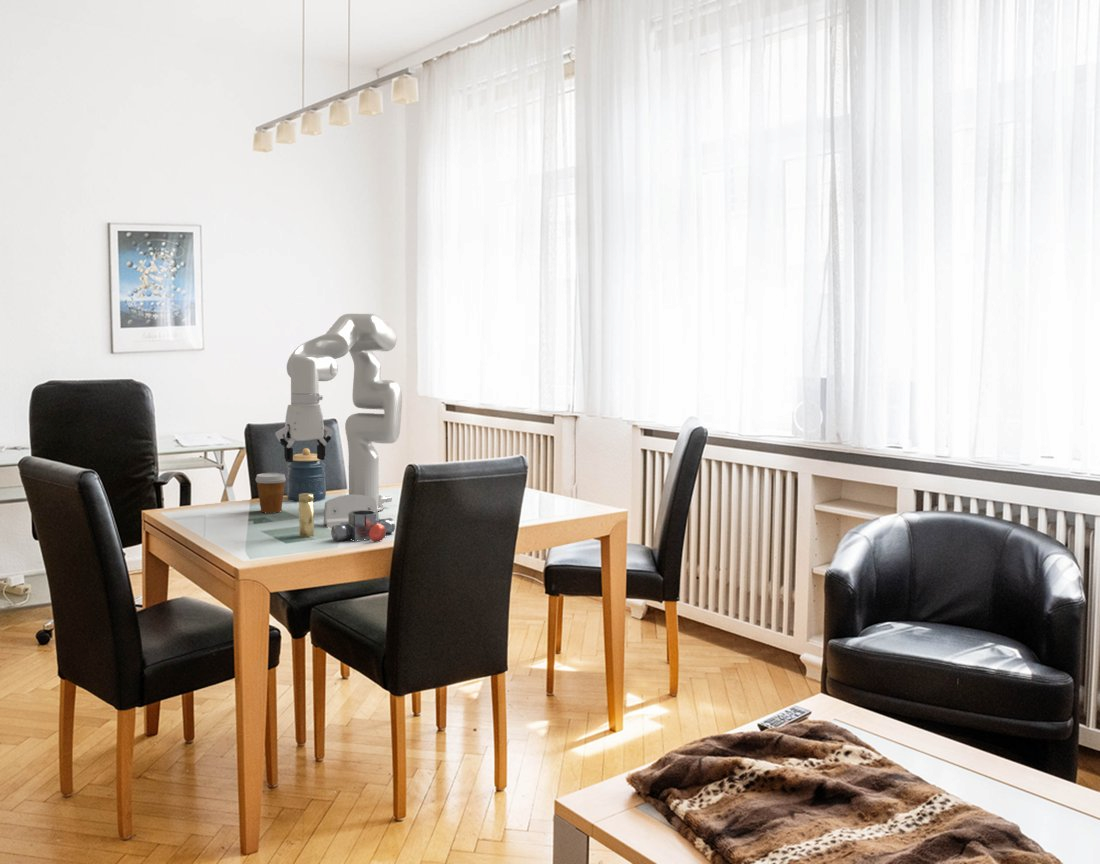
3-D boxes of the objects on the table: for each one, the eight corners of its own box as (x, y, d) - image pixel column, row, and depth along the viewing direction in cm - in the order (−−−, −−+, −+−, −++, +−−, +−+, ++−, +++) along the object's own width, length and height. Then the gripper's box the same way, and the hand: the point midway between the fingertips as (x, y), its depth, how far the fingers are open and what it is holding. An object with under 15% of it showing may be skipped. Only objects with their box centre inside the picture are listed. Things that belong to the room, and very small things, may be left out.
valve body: (383, 530, 289) (383, 507, 288) (405, 537, 280) (405, 513, 279) (328, 538, 277) (327, 514, 276) (349, 546, 268) (348, 520, 267)
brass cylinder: (309, 533, 283) (309, 492, 282) (316, 536, 280) (315, 494, 279) (296, 535, 281) (296, 494, 279) (303, 538, 278) (302, 496, 276)
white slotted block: (326, 528, 292) (323, 494, 294) (323, 530, 296) (320, 497, 298) (381, 524, 299) (378, 491, 301) (378, 526, 303) (375, 494, 305)
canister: (333, 497, 344) (332, 447, 342) (313, 503, 332) (312, 451, 330) (300, 494, 348) (300, 445, 346) (279, 500, 336) (279, 449, 334)
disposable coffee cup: (258, 515, 309) (257, 477, 308) (253, 510, 318) (253, 473, 317) (289, 513, 313) (288, 476, 312) (284, 508, 322) (283, 472, 321)
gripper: (326, 398, 285) (326, 457, 286) (269, 400, 273) (270, 461, 275) (339, 399, 279) (339, 460, 281) (281, 401, 268) (282, 464, 269)
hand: (305, 460), depth 278 cm, fingers open, 9 cm apart
